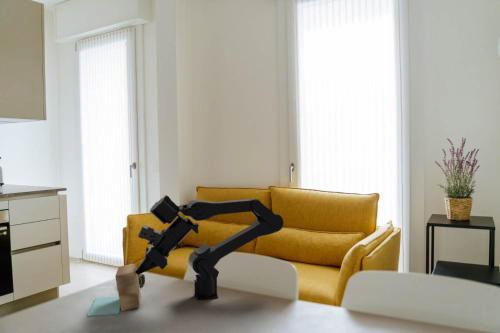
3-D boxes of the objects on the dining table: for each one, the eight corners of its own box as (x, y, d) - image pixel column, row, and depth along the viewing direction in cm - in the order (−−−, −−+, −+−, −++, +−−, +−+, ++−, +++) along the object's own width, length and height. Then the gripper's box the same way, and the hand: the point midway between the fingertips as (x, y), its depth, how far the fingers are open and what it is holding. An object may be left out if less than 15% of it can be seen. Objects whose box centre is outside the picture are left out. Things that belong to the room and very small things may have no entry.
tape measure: (143, 282, 139) (143, 271, 139) (146, 288, 133) (146, 276, 133) (122, 285, 136) (122, 274, 136) (125, 291, 130) (124, 279, 130)
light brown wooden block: (141, 295, 124) (135, 263, 123) (139, 306, 114) (133, 272, 113) (124, 298, 123) (118, 266, 122) (121, 311, 113) (115, 276, 112)
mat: (123, 296, 125) (123, 295, 125) (118, 313, 111) (118, 312, 111) (95, 298, 123) (95, 297, 123) (87, 316, 109) (87, 315, 109)
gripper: (154, 211, 128) (118, 248, 126) (154, 220, 110) (112, 263, 108) (180, 235, 130) (145, 271, 128) (184, 247, 112) (143, 290, 110)
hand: (136, 273), depth 118 cm, fingers closed
